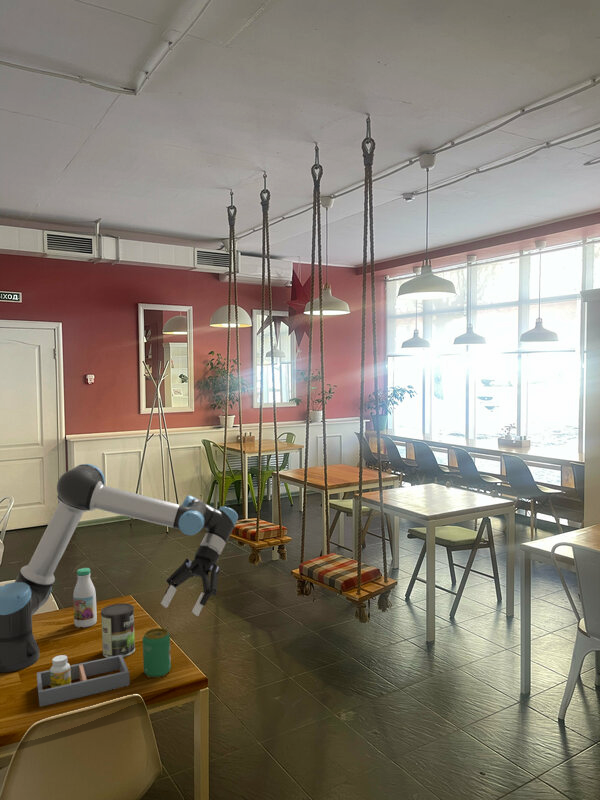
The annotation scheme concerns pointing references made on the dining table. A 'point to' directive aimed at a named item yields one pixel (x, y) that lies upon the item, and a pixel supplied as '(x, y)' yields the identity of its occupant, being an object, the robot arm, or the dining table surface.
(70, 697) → the caddy
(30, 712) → the dining table surface
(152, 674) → the beverage can
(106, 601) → the dining table surface
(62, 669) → the supplement bottle
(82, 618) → the milk bottle
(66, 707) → the dining table surface
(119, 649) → the coffee can
